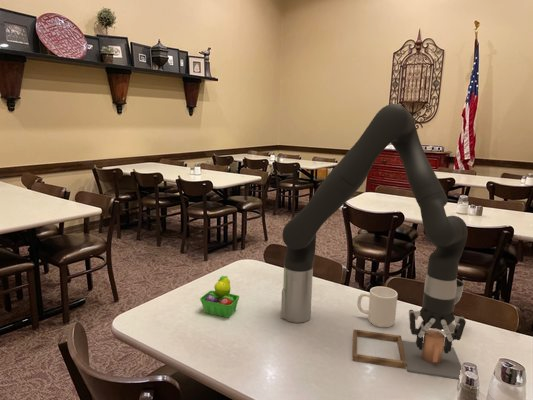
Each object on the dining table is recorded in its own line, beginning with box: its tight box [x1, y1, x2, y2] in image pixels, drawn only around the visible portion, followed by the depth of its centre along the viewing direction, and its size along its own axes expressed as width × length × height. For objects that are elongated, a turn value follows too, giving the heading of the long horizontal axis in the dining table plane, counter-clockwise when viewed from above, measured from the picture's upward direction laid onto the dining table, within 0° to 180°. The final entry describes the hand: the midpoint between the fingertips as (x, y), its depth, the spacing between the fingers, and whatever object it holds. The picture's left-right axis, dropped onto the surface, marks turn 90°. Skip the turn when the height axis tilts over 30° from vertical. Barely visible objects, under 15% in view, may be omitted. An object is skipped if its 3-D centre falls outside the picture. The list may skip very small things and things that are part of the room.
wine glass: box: [437, 278, 465, 333], centre depth 121 cm, size 8×8×15 cm
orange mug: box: [422, 329, 446, 364], centre depth 103 cm, size 7×5×7 cm
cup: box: [356, 286, 399, 328], centre depth 124 cm, size 8×12×10 cm
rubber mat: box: [402, 339, 463, 380], centre depth 105 cm, size 14×14×1 cm
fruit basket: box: [199, 275, 240, 318], centre depth 128 cm, size 11×9×11 cm
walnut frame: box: [352, 328, 407, 370], centre depth 109 cm, size 14×14×2 cm
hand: (432, 349), depth 104 cm, fingers open, 6 cm apart
